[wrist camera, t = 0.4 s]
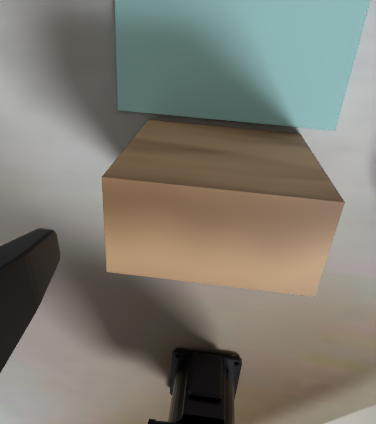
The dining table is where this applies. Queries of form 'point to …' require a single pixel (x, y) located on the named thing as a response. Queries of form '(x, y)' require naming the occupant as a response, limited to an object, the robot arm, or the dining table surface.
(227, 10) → the mat
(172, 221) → the light brown wooden block
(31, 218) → the dining table surface
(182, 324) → the dining table surface
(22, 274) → the robot arm
